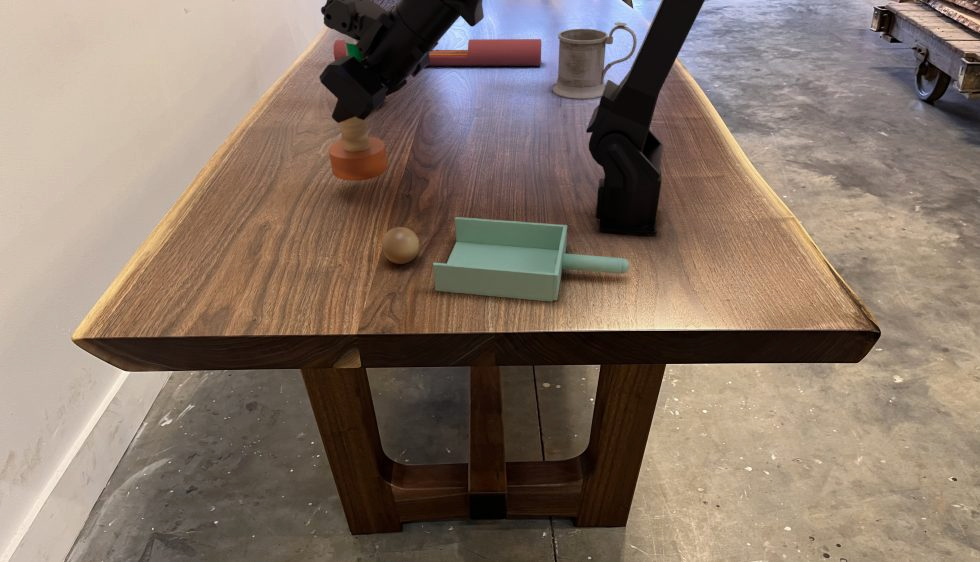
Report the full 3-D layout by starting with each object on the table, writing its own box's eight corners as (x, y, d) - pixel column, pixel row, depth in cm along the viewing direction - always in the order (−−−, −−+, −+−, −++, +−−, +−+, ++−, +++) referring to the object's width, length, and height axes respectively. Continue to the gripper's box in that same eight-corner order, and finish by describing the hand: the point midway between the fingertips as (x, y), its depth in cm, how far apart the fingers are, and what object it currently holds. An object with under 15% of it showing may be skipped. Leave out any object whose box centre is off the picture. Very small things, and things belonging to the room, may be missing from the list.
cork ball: (425, 252, 71) (422, 221, 68) (414, 272, 67) (411, 240, 65) (390, 249, 71) (386, 218, 69) (379, 269, 68) (374, 237, 66)
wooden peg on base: (386, 155, 84) (373, 55, 77) (388, 177, 79) (375, 72, 71) (333, 160, 83) (315, 60, 76) (331, 183, 78) (311, 77, 70)
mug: (544, 94, 114) (545, 24, 107) (564, 79, 121) (567, 12, 114) (621, 105, 108) (629, 32, 101) (639, 88, 115) (646, 19, 108)
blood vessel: (541, 61, 131) (541, 36, 128) (540, 68, 126) (541, 42, 124) (342, 62, 134) (338, 37, 131) (335, 69, 130) (331, 43, 127)
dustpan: (435, 290, 65) (432, 264, 63) (457, 241, 72) (455, 216, 71) (626, 308, 61) (630, 281, 59) (628, 255, 69) (631, 229, 67)
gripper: (395, -50, 74) (326, 44, 83) (320, -21, 59) (246, 89, 68) (463, 24, 77) (389, 107, 86) (408, 68, 62) (325, 163, 71)
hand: (341, 114), depth 77 cm, fingers closed on wooden peg on base, 3 cm apart
